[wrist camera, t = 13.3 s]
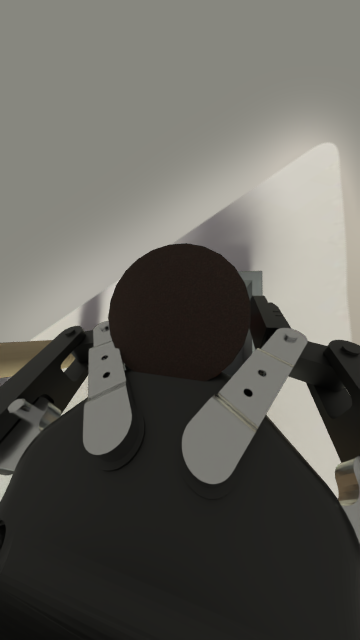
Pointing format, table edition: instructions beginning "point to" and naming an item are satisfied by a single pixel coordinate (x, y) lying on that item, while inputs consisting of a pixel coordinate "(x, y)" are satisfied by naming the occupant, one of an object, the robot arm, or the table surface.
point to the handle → (22, 356)
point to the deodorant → (180, 313)
